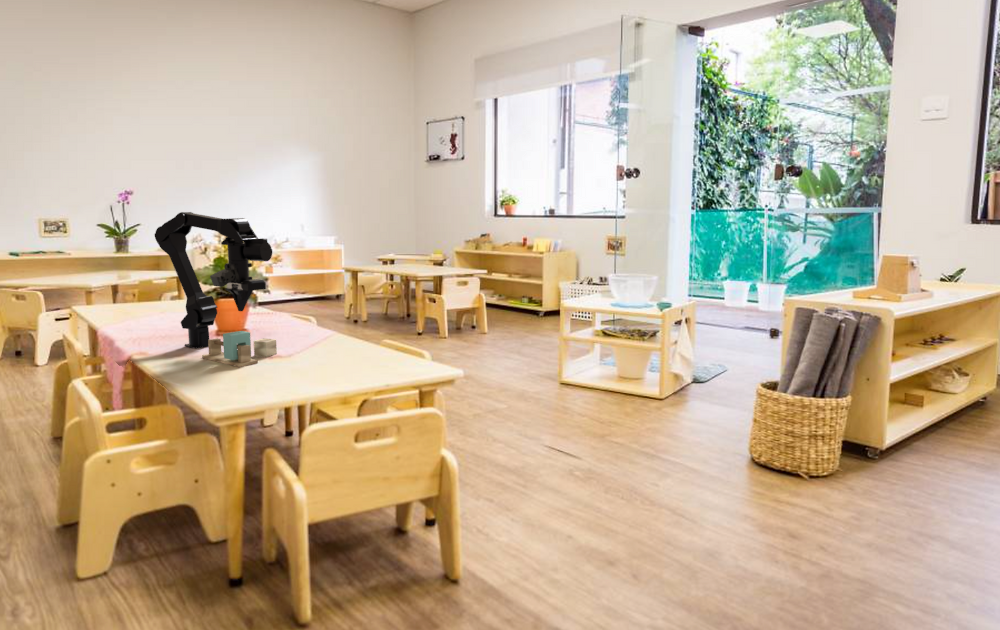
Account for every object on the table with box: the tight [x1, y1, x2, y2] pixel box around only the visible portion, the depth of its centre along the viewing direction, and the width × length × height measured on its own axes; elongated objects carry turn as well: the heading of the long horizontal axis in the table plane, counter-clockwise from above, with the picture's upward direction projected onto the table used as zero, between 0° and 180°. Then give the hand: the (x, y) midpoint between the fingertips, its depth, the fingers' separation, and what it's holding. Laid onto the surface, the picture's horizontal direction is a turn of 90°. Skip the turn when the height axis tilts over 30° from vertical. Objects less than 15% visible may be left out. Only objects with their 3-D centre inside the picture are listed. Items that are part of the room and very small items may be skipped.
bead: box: [222, 330, 252, 360], centre depth 197 cm, size 4×6×7 cm, turn 144°
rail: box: [202, 338, 259, 368], centre depth 200 cm, size 18×6×5 cm, turn 54°
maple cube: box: [253, 338, 278, 358], centre depth 208 cm, size 4×4×4 cm
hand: (240, 311), depth 213 cm, fingers closed
